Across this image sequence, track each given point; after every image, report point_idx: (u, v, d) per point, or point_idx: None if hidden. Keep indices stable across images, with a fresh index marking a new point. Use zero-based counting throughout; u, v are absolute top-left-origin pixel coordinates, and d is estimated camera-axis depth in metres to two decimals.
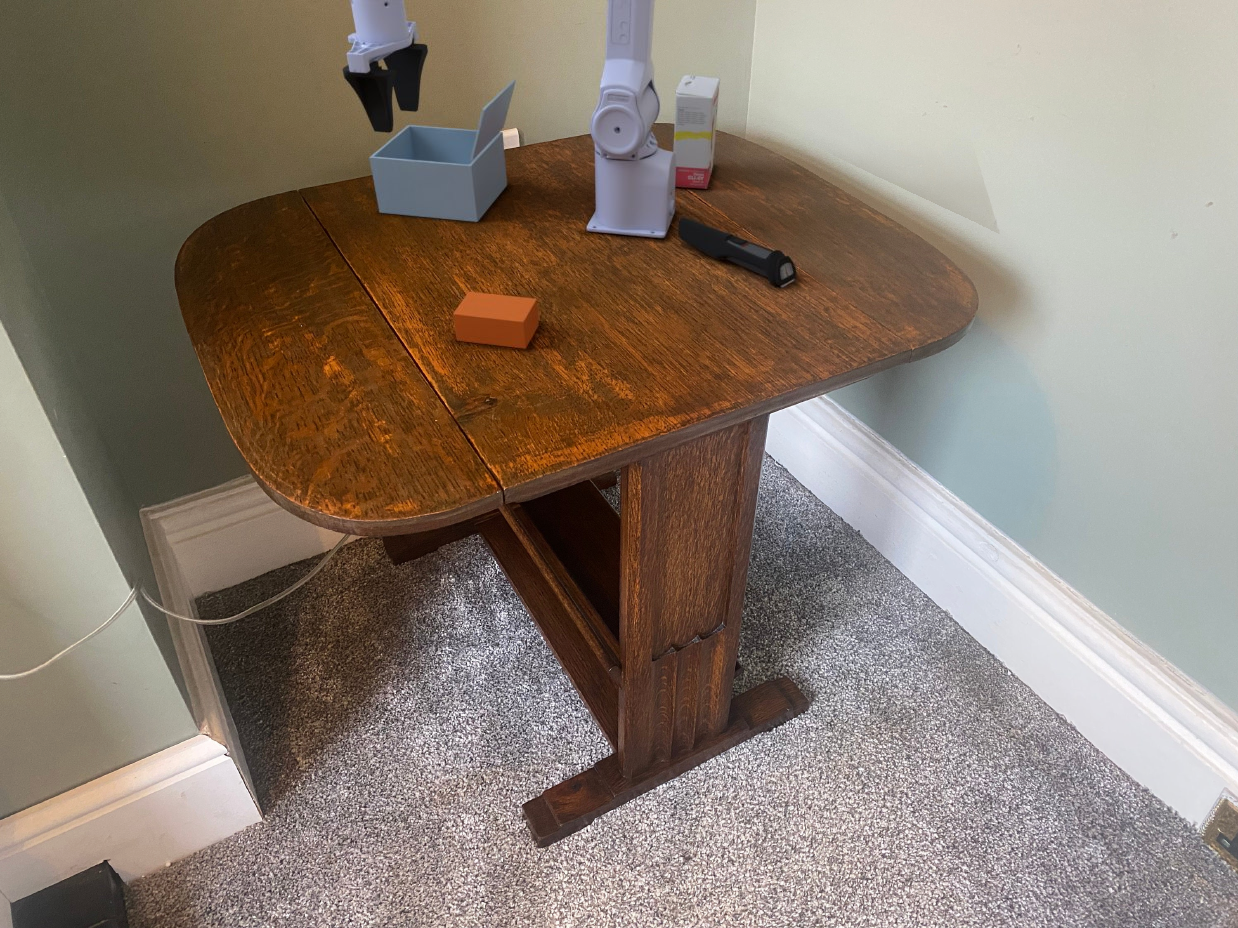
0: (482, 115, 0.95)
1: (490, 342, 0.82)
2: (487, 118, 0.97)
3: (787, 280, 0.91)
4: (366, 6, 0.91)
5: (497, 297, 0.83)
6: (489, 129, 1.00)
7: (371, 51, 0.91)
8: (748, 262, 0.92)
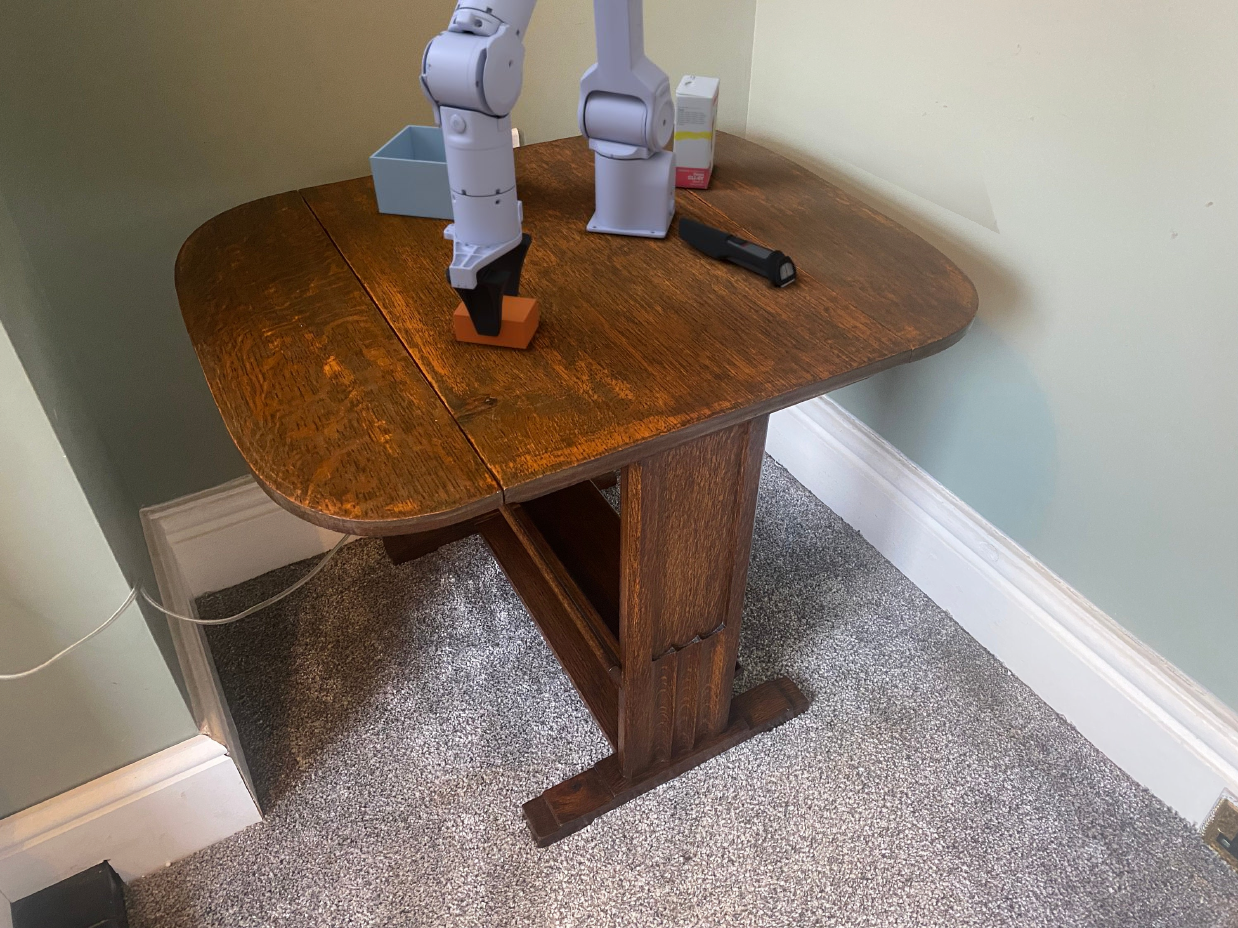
0: None
1: (490, 342, 0.82)
2: None
3: (787, 280, 0.91)
4: (473, 205, 0.72)
5: None
6: None
7: (479, 261, 0.72)
8: (748, 262, 0.92)
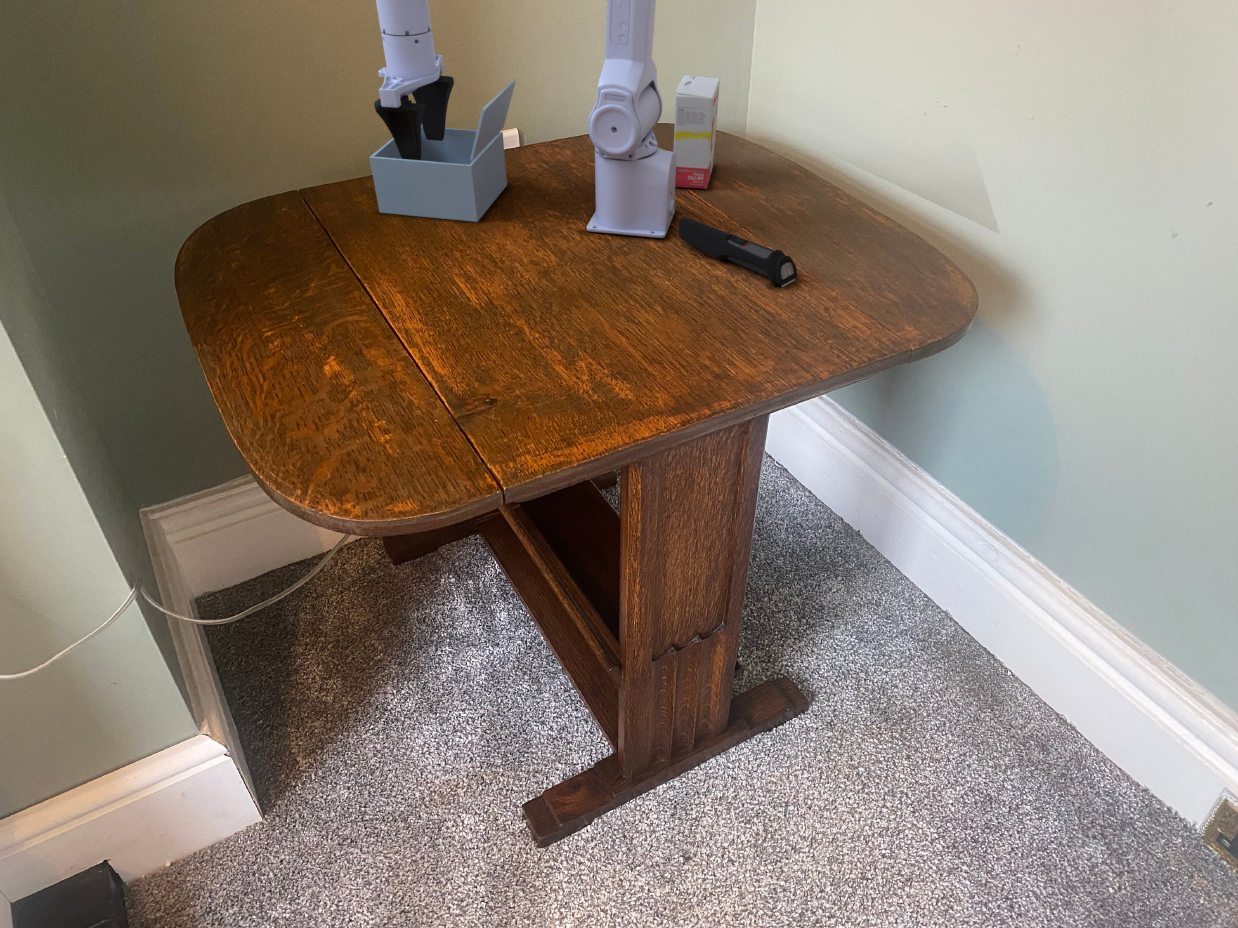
0: (482, 115, 0.95)
1: None
2: (487, 118, 0.97)
3: (787, 279, 0.91)
4: (397, 44, 0.95)
5: None
6: (489, 129, 1.00)
7: (402, 86, 0.95)
8: (749, 261, 0.92)
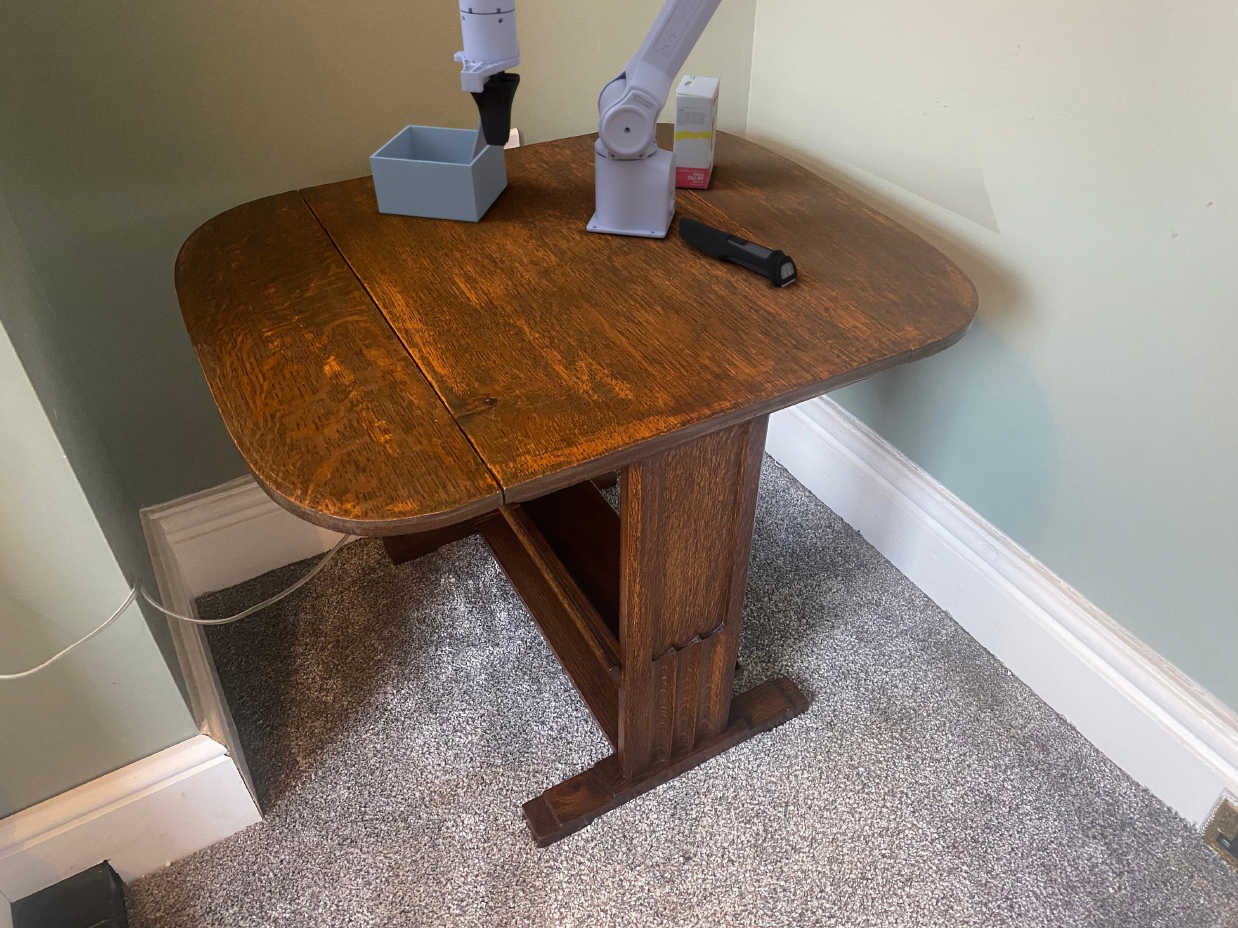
0: None
1: None
2: None
3: (788, 279, 0.91)
4: (479, 23, 0.86)
5: None
6: None
7: (485, 69, 0.86)
8: (749, 261, 0.92)
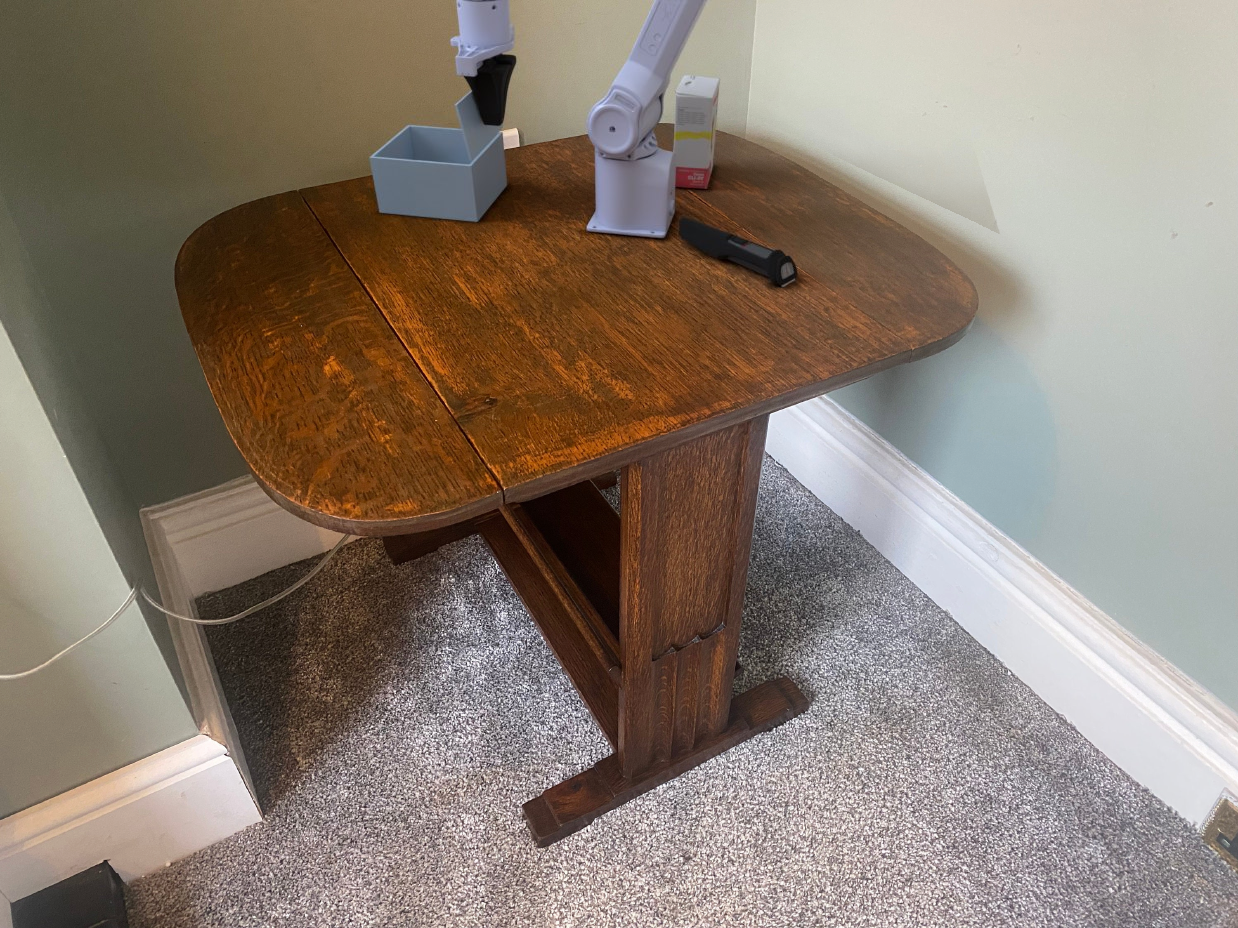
0: (457, 111, 0.95)
1: None
2: (467, 114, 0.97)
3: (788, 279, 0.91)
4: (474, 10, 0.91)
5: None
6: (479, 127, 1.00)
7: (479, 54, 0.91)
8: (749, 261, 0.92)
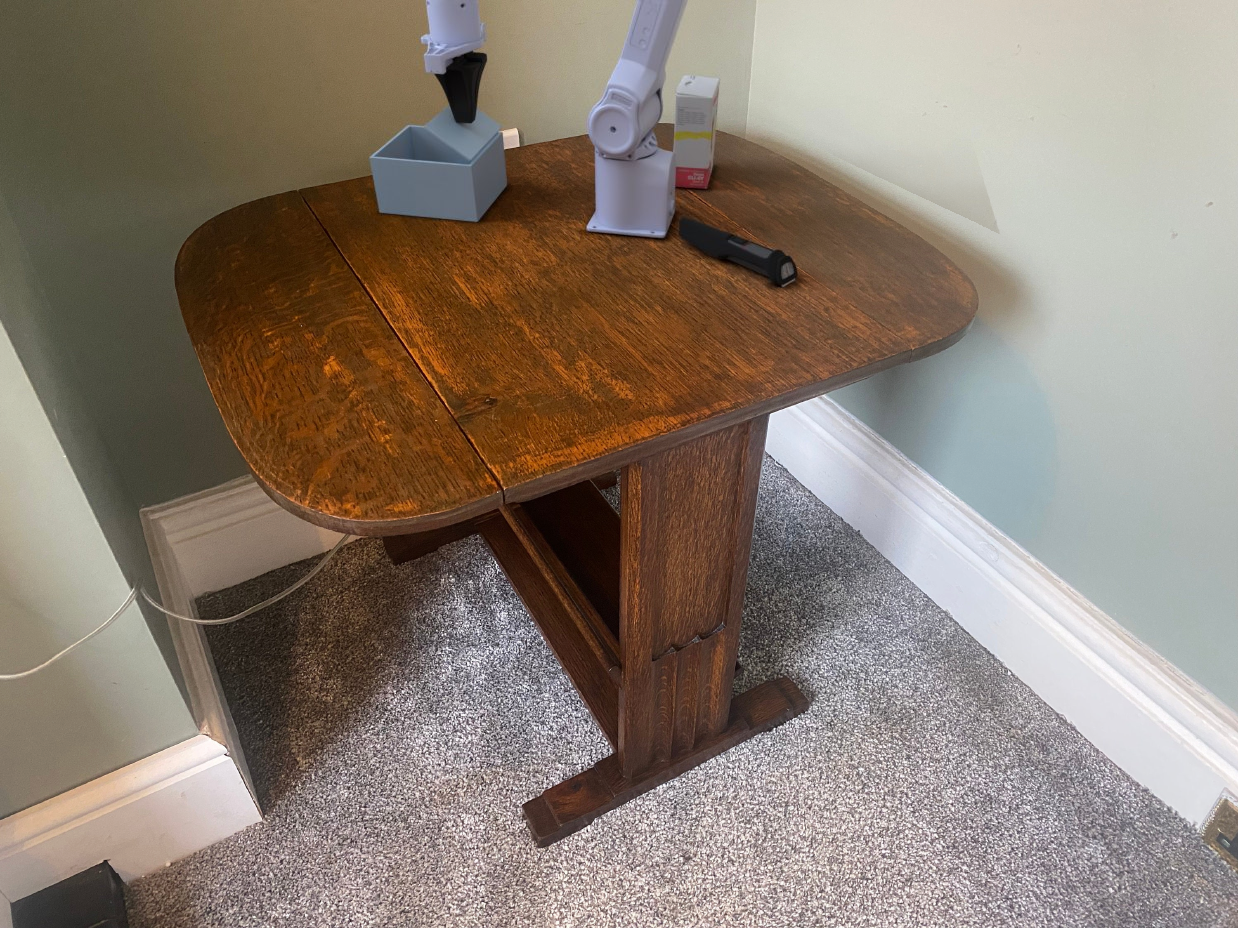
0: (429, 130, 0.97)
1: None
2: (444, 129, 0.99)
3: (788, 279, 0.91)
4: (442, 8, 0.91)
5: None
6: (467, 134, 1.01)
7: (447, 52, 0.91)
8: (749, 261, 0.92)
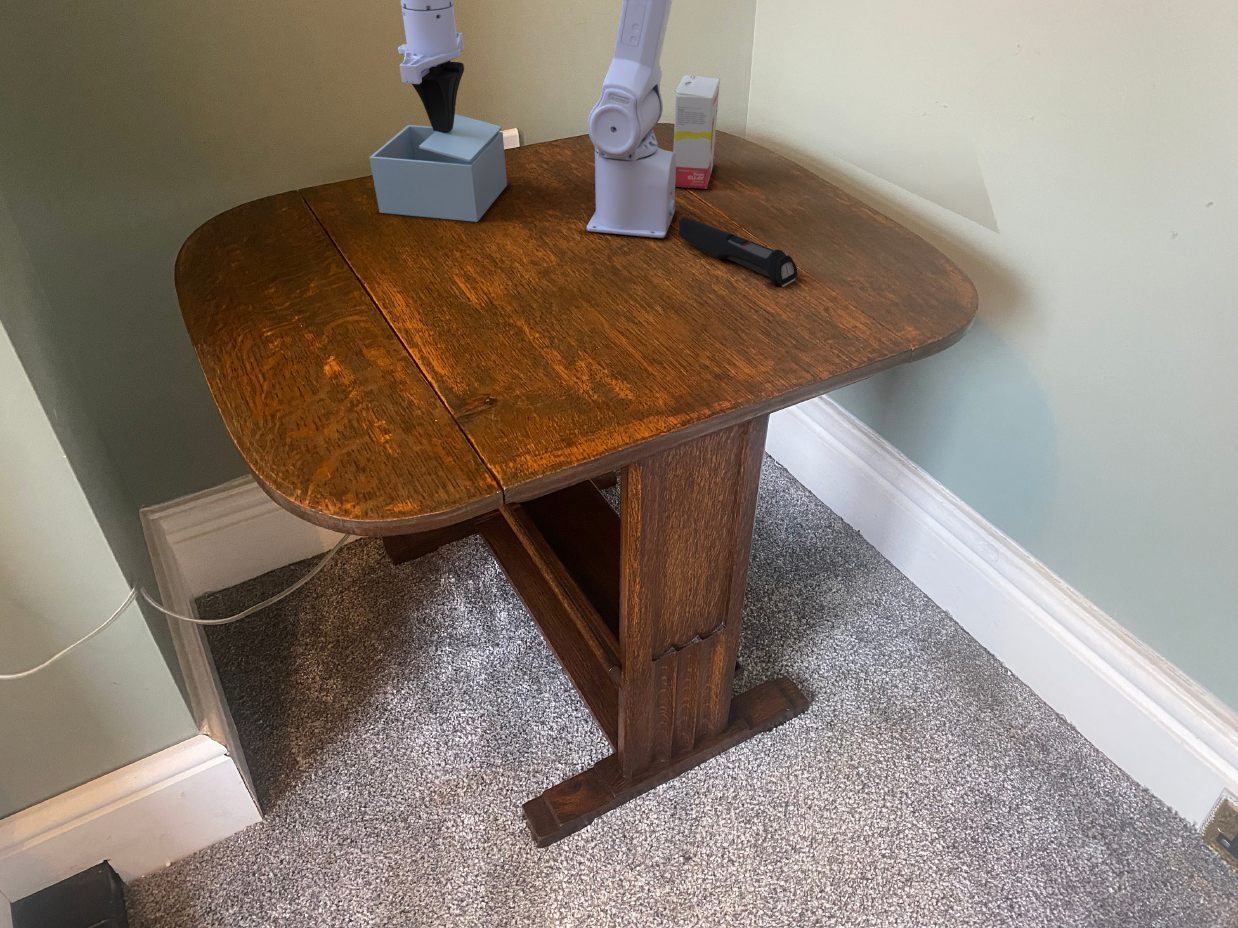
0: (424, 148, 0.99)
1: None
2: (440, 143, 1.00)
3: (788, 279, 0.91)
4: (418, 19, 0.93)
5: None
6: (464, 141, 1.02)
7: (423, 63, 0.93)
8: (749, 261, 0.92)
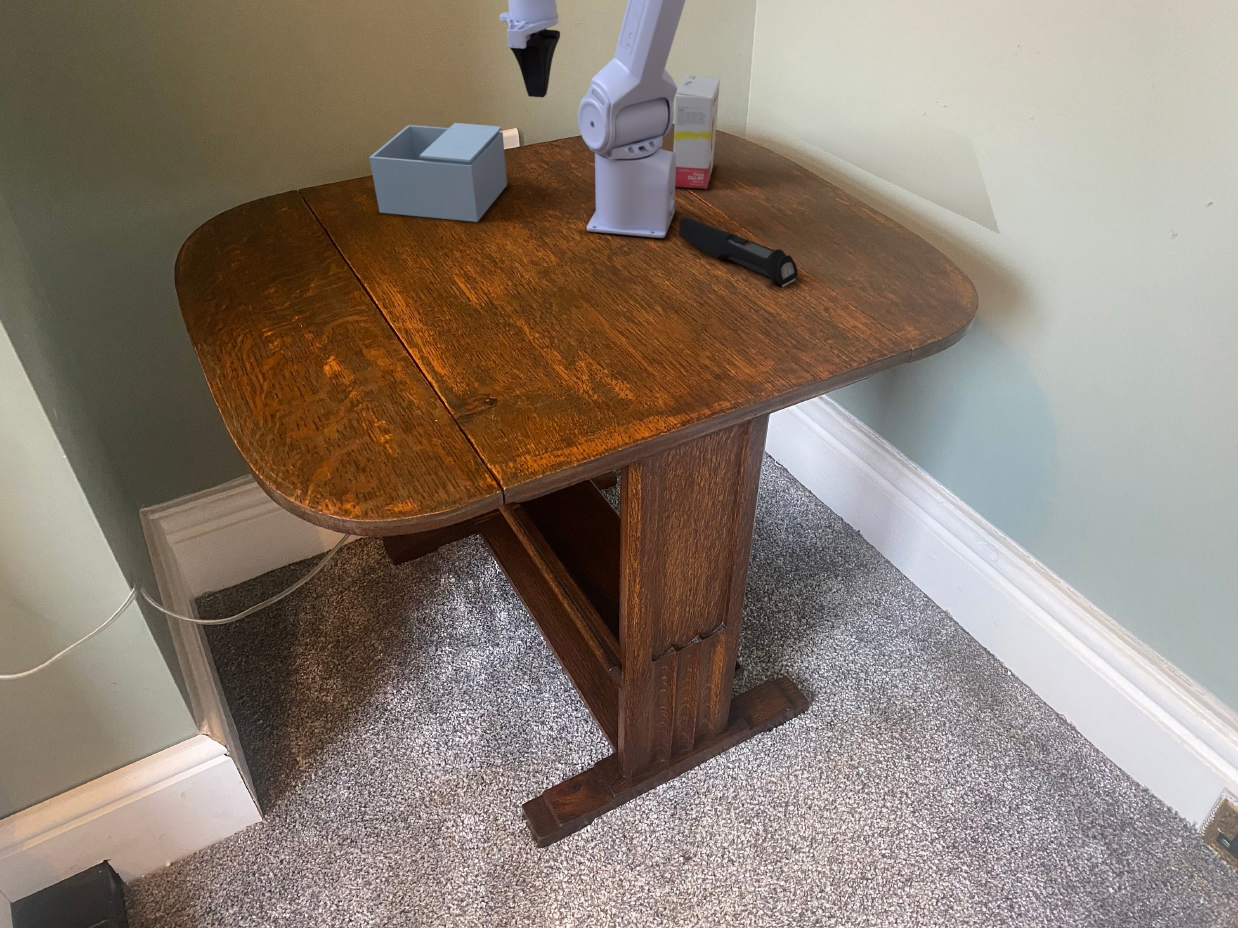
0: (425, 156, 0.99)
1: None
2: (440, 150, 1.01)
3: (788, 279, 0.91)
4: None
5: None
6: (464, 144, 1.02)
7: (528, 28, 0.98)
8: (749, 261, 0.92)
